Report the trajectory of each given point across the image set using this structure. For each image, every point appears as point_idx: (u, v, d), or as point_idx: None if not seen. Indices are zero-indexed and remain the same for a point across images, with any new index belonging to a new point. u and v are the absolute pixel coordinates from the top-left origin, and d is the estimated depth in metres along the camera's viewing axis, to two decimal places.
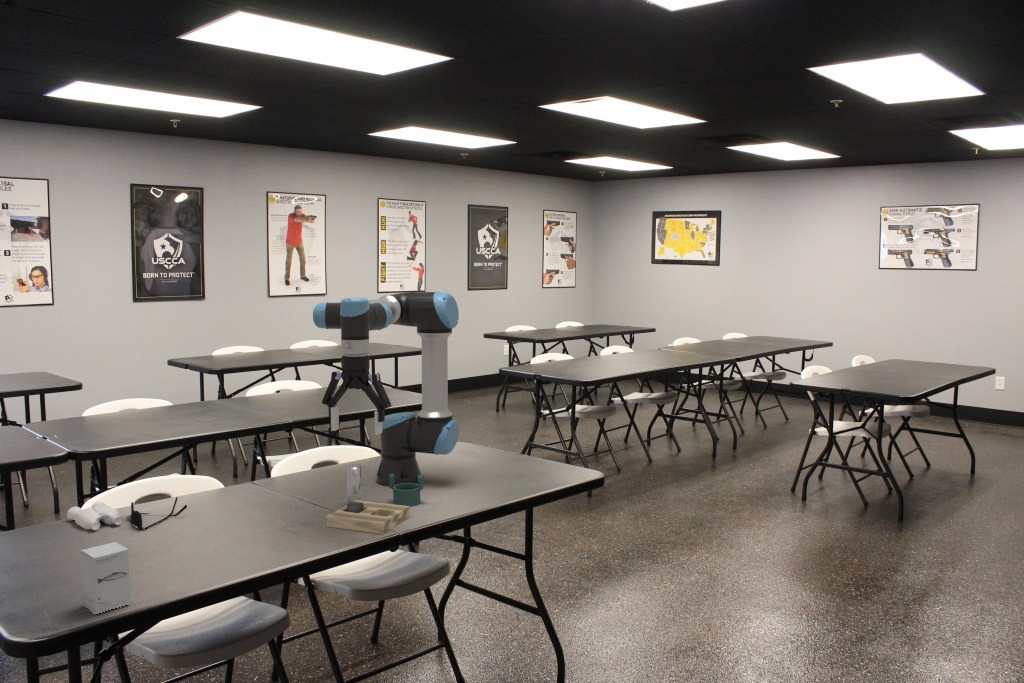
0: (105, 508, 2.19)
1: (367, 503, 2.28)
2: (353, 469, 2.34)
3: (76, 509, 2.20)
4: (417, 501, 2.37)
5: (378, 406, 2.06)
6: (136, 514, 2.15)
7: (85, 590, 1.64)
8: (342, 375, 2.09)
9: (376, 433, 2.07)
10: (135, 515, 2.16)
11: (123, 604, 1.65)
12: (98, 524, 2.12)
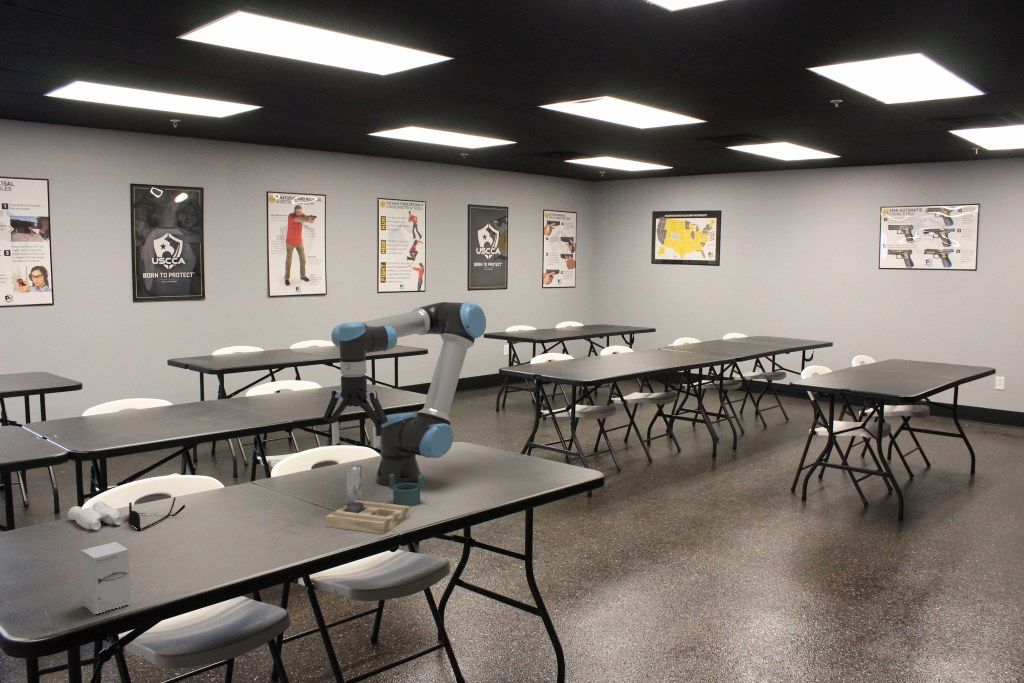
0: (106, 508, 2.19)
1: (367, 503, 2.28)
2: (353, 469, 2.34)
3: (77, 509, 2.20)
4: (417, 501, 2.37)
5: (376, 422, 2.26)
6: (134, 514, 2.15)
7: (85, 590, 1.64)
8: (342, 394, 2.28)
9: (374, 446, 2.27)
10: (133, 515, 2.16)
11: (123, 604, 1.65)
12: (99, 524, 2.12)
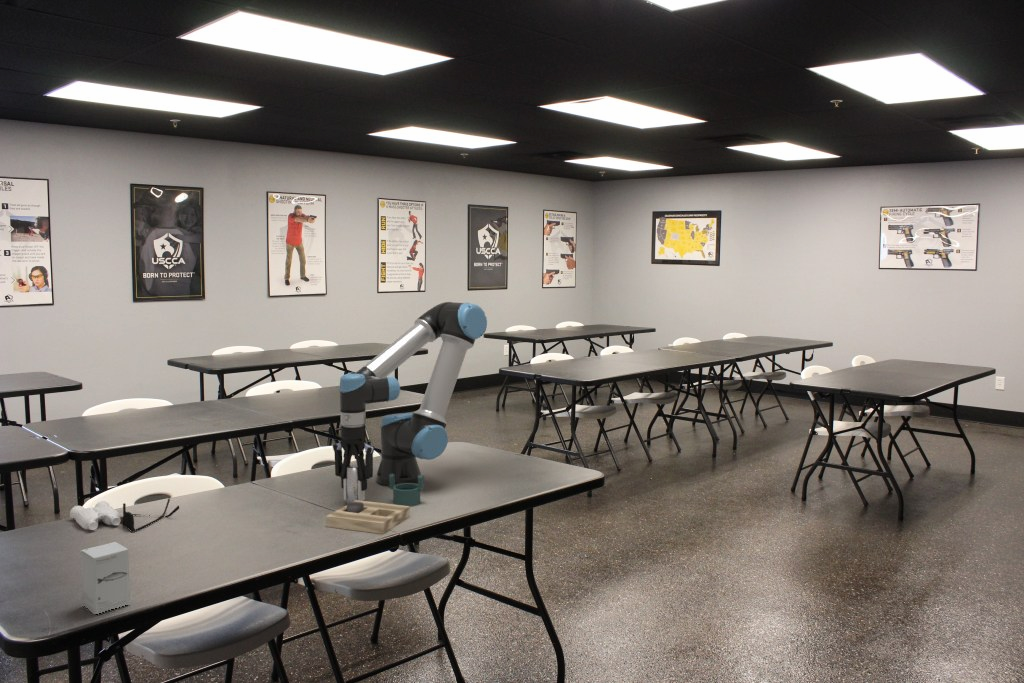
0: (105, 508, 2.19)
1: (367, 503, 2.28)
2: (353, 469, 2.34)
3: (78, 508, 2.21)
4: (417, 501, 2.37)
5: (362, 477, 2.34)
6: (128, 515, 2.14)
7: (85, 590, 1.64)
8: (341, 443, 2.35)
9: None
10: (127, 516, 2.15)
11: (123, 604, 1.65)
12: (96, 524, 2.12)
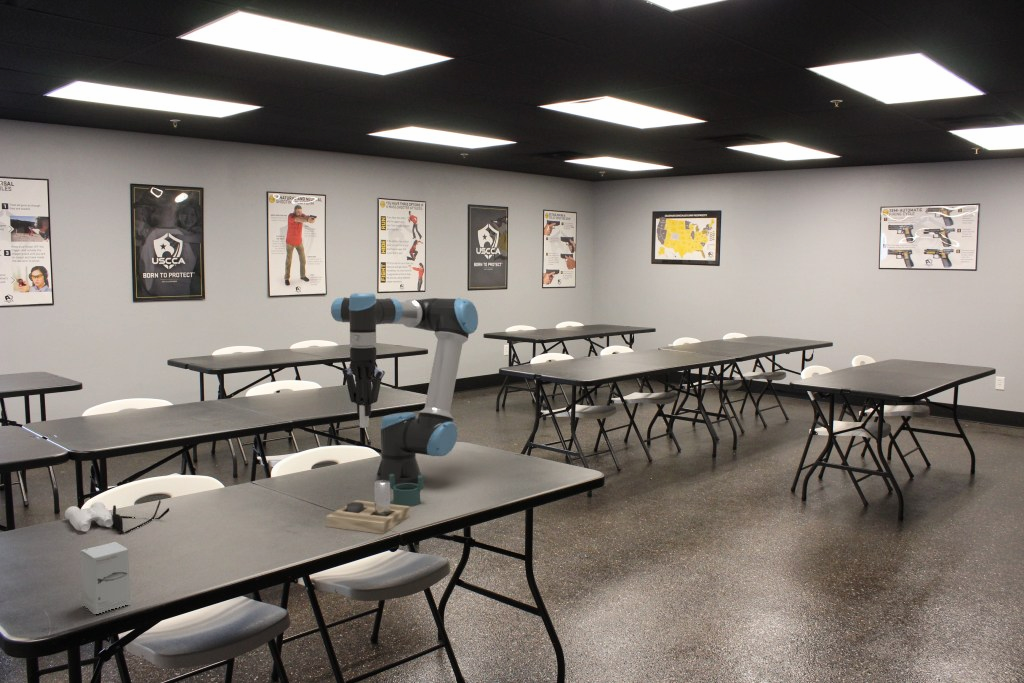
0: (99, 509, 2.18)
1: (367, 503, 2.28)
2: (382, 485, 2.17)
3: (73, 509, 2.20)
4: (417, 501, 2.37)
5: (366, 401, 2.23)
6: (117, 517, 2.13)
7: (85, 590, 1.64)
8: (351, 366, 2.23)
9: (363, 426, 2.24)
10: (116, 518, 2.13)
11: (123, 604, 1.65)
12: (88, 526, 2.11)
